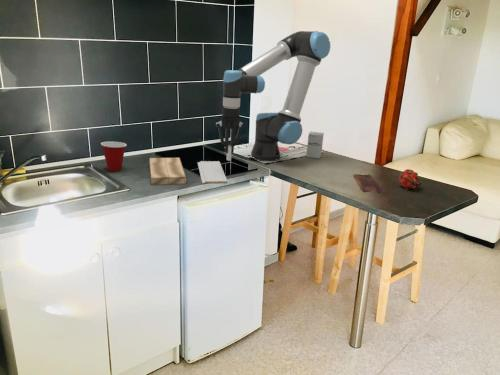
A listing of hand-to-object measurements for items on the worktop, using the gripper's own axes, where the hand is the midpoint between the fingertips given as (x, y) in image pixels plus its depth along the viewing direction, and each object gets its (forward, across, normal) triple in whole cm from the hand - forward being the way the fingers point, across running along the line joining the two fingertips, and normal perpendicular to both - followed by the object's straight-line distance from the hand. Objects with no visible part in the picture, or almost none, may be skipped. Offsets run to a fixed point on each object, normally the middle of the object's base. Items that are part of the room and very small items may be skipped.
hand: (228, 159), depth 192 cm
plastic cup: (+7, +49, -8) cm, 51 cm away
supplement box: (+5, -52, -24) cm, 57 cm away
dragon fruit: (+5, -74, +30) cm, 79 cm away
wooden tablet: (+6, -59, +22) cm, 63 cm away
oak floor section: (+6, +27, 0) cm, 28 cm away
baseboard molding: (+7, +8, 0) cm, 11 cm away
